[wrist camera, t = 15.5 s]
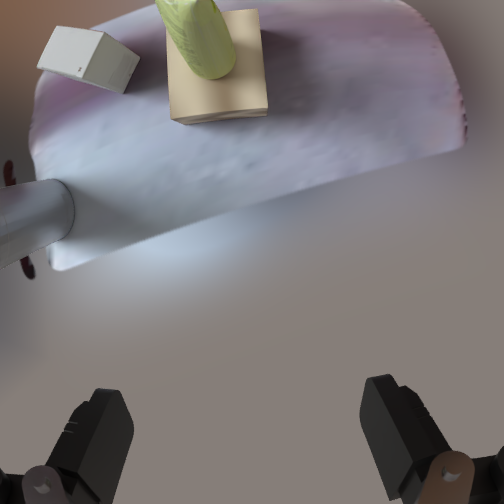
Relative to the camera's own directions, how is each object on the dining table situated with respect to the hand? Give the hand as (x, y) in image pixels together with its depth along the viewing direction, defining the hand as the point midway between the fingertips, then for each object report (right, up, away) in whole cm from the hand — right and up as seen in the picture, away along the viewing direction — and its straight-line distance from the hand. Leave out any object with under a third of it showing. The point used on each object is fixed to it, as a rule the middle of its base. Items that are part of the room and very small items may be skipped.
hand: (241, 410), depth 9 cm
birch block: (-3, +26, +24) cm, 36 cm away
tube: (-4, +25, +19) cm, 31 cm away
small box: (-19, +29, +24) cm, 42 cm away
